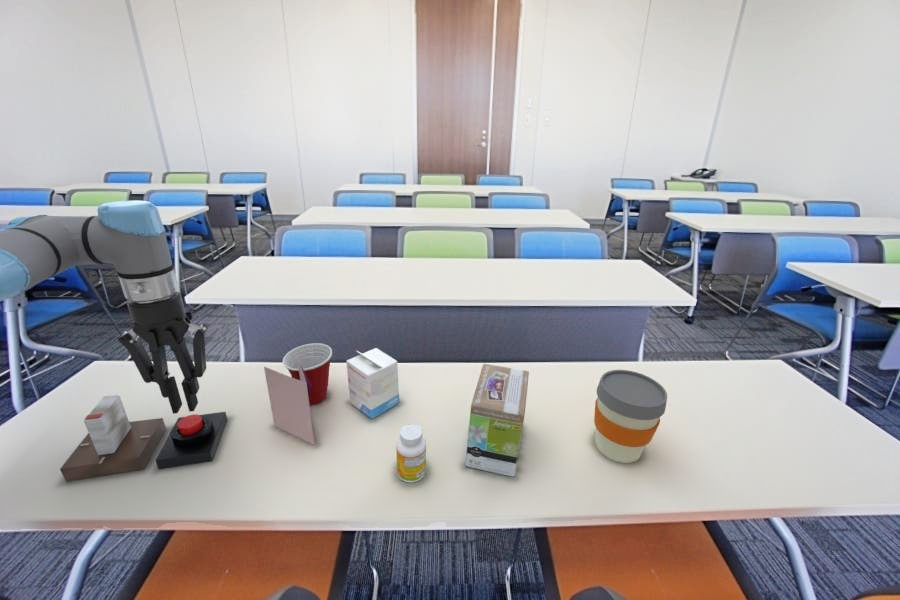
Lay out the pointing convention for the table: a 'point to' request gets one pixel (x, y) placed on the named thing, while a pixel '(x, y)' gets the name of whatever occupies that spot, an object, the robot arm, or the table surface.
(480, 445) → the tea box
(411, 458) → the supplement bottle
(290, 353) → the plastic cup
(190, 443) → the button block
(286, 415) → the greeting card
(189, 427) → the button
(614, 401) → the reusable coffee cup
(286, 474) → the table surface
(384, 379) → the ink box
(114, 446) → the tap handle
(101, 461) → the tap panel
